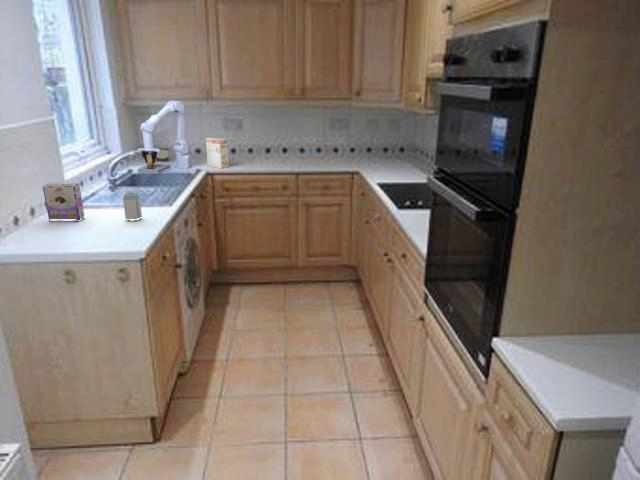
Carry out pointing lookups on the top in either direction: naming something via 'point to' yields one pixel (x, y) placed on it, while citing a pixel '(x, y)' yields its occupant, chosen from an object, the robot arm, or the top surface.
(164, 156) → the food container
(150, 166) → the peg
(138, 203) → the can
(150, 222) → the top surface
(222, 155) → the coffeecake box
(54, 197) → the candy box
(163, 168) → the board
